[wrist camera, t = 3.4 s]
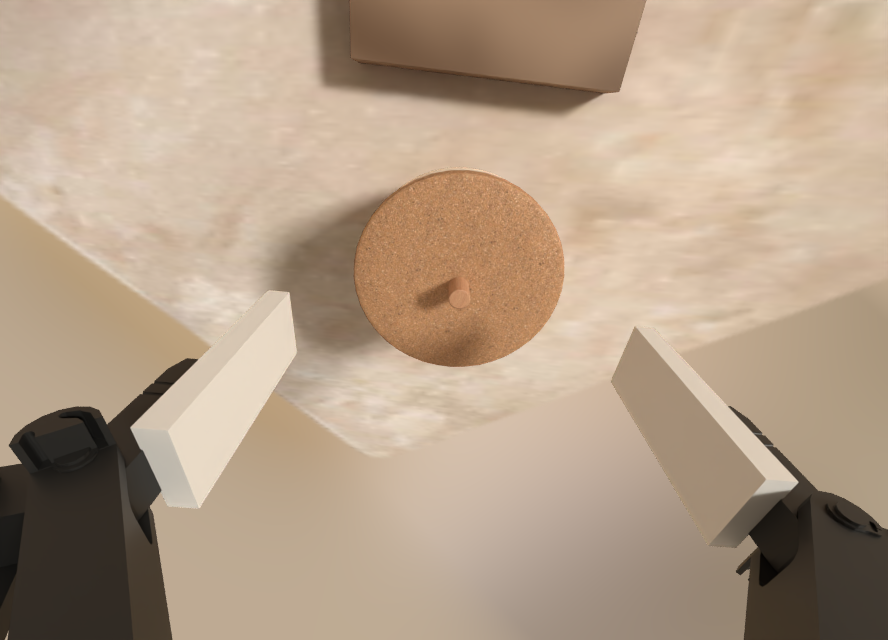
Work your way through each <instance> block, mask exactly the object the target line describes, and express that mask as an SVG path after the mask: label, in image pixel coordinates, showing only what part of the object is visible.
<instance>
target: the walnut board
mask: <svg viewBox="0 0 888 640" xmlns="http://www.w3.org/2000/svg"><path fill="white" fill-rule="evenodd" d="M645 3H646V0H349V7H350V52H351V59H353V60H355V61H357V62H359V63H367V64H375V65H383V66H391V67H399V68H407V69H415V70H423V71H431V72H439V73H447V74H455V75H462V76H470V77H478V78H486V79H494V80H502V81H510V82H518V83H526V84H534V85H542V86H550V87H558V88H566V89H574V90H582V91H590V92H598V93H613V92H619V91H620V87H621V84H622V81H623V77H624V74H625V71H626V67H627V64H628V60H629V57H630V54H631V50H632V47H633V44H634V40H635V37H636V33H637V30H638V27H639V23H640V20H641V17H642V13H643V10H644V7H645Z"/></svg>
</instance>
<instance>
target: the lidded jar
mask: <svg viewBox="0 0 888 640" xmlns="http://www.w3.org/2000/svg"><path fill="white" fill-rule="evenodd" d="M563 279H564V256H563V250H562V245H561V242H560V239H559V236H558V234H557V231H556V228H555V227H554V225H553V223H552V222H551V220H550V218H549V217H548V215H547V214H546V212H545V211H544V210H543V209H542V208H541V207H540V206H539V204H538V203H537V202H536V201H535V200H534V199H533V198H532V197H531V196H529V195H528V194H527V193H526V192H524V191H523V190H522V189H521V188H519V187H518V186H516V185H514V184H512V183H511V182H509V181H507V180H505V179H503V178H502V177H500V176H498V175H496V174H493V173H490V172H487V171H484V170H480V169H474V168H468V167H450V168H444V169H439V170H434V171H431V172H428V173H425V174H423V175H420V176H418V177H416V178H414V179H413V180H411V181H409V182H407V183H406V184H404V185H403V186H402V187H401V188H399V189H398V190H397V191H396V192H394V193H393V194H392V195H391V196H389V197H388V198H387V199H386V200H385V201H384V202H383V203H382V204H381V205H380V207H379V208H378V209H377V210H376V211H375V212H374V214H373V215H372V216H371V218H370V220H369V221H368V223H367V225H366V226H365V228H364V230H363V232H362V235H361V237H360V240H359V242H358V245H357V250H356V255H355V260H354V281H355V287H356V293H357V296H358V299H359V302H360V305H361V307H362V309H363V311H364V313H365V315H366V317H367V319H368V320H369V321H370V323H371V324H372V326H373V327H374V328H375V330H376V331H377V332H378V333H379V334H380V335H381V336H382V337H383V338H384V339H385V340H386V341H387V342H389V343H390V344H391V345H393V346H394V347H395V348H397V349H398V350H400V351H402V352H403V353H405V354H407V355H409V356H411V357H413V358H416V359H418V360H421V361H423V362H427V363H431V364H436V365H442V366H449V367H464V366H473V365H480V364H484V363H488V362H491V361H494V360H497V359H499V358H502V357H505V356H507V355H509V354H510V353H512V352H514V351H515V350H517V349H519V348H520V347H522V346H523V345H524V344H526V343H527V342H528V341H530V340H531V339H532V338H533V337H534V336H535V335H536V334H537V333H538V332H539V331H540V330H541V329H542V327H543V326H544V325H545V323H546V322H547V321H548V319H549V318H550V316H551V314H552V312H553V311H554V309H555V307H556V305H557V302H558V299H559V296H560V294H561V291H562V285H563Z"/></svg>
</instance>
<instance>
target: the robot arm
mask: <svg viewBox="0 0 888 640" xmlns="http://www.w3.org/2000/svg"><path fill="white" fill-rule="evenodd" d="M296 354H297V349H296V341H295V333H294V325H293V317H292V309H291V301H290V293H289V292H283V291H273V290H268V291H267V292H266V293H265V294H264V295H263V296H262V297H261V298H260V299H259V300H258V301H257V302H256V303H255V304H254V305H253V306H252V307H251V308H250V309H249V310H248V311H247V312H246V313H245V314H244V315H243V316H242V317H241V318H240V319H239V320H238V321H237V322H236V323H235V324H234V325H233V326H232V327H231V328H230V329H229V330H228V331H227V332H226V333H225V334H224V335H223V336H222V337H221V338H220V339H219V340H218V341H217V342H216V343H215V344H214V345H213V346H212V347H211V348H210V349H209V350H208V351H207V352H206V353H205V354H204V355H203V356H202V357H201V358H200V359H188V358H187V359H185V360H183V361H181V362H179V363H178V364H176V365H174V366H172V367H170V368H168V369H167V370H166V371H165V372H164V373H163V374H162V375H161V376H160V377H159V378H158V379H156V380H155V382H154V384H151V385H150V386H149V387H148V388H146V389H145V391H143V394H140V395H139V396H138V397H137V398H136V399H134V400H133V401H132V402H131V403H130V404H129V405H128V406H127V407H126V408H125V409H124V410H123V411H121V413H119V414H118V415H117V416H116V417H115V418H114V419H113V420H112V421H111V422H110V423H108V424H106V422H105V420H104V418H103V416H102V415H101V413H100V411H99V410H97V409H95V408H92V407H72V408H67V409H62V410H58V411H56V412H53V413H50V414H47V415H45V416H42V417H40V418H39V419H37V420H35V421H33V422H31V423H30V424H28V425H26V426H25V427H24V428H23V429H22V430H20V431H19V432H18V433H17V434H16V435H15V436H14V437H13V439H12V441H11V443H10V444H9V447H10V448H11V449H12V450H13V452H14V453H15V455H16V456H17V457H18V459H19V460H20V461H21V463H22V464H16V465H10V466H4V467H0V640H5V638H6V635H7V633H8V631H9V633H8V640H172V634H171V628H170V622H169V614H168V608H167V602H166V595H165V588H164V582H163V575H162V569H161V563H160V555H159V549H158V543H157V536H156V530H155V523H154V516H153V513H152V511H151V509H150V505H151V504H152V503H153V501H154V500H155V499H156V497H157V496H158V495H159V493H160V492H161V493H162V496H163V498H164V500H165V502H166V504H167V506H172V507H185V508H198V509H199V508H200V506H201V505H202V503H203V502H204V500H205V498H206V497H207V495H208V494H209V492H210V491H211V489H212V487H213V486H214V484H215V482H216V481H217V479H218V478H219V476H220V474H221V473H222V471H223V470H224V468H225V467H226V465H227V463H228V462H229V460H230V459H231V457H232V455H233V454H234V452H235V451H236V449H237V448H238V446H239V444H240V443H241V441H242V440H243V438H244V436H245V435H246V433H247V431H248V430H249V428H250V427H251V425H252V424H253V422H254V420H255V419H256V417H257V416H258V414H259V412H260V411H261V409H262V408H263V406H264V404H265V403H266V401H267V400H268V398H269V396H270V395H271V393H272V392H273V390H274V389H275V387H276V385H277V384H278V382H279V381H280V379H281V377H282V376H283V374H284V373H285V371H286V369H287V368H288V366H289V365H290V363H291V362H292V360H293V358H294V357H295V355H296ZM611 383H612V384H613V386H614V388H615V389H616V391H617V393H618V394H619V396H620V398H621V399H622V401H623V403H624V405H625V406H626V408H627V410H628V411H629V413H630V415H631V416H632V418H633V420H634V421H635V423H636V425H637V427H638V428H639V430H640V432H641V433H642V435H643V437H644V438H645V440H646V442H647V443H648V445H649V447H650V448H651V450H652V452H653V454H654V455H655V457H656V459H657V460H658V462H659V463H660V465H661V467H662V469H663V470H664V472H665V474H666V475H667V477H668V479H669V480H670V482H671V484H672V485H673V487H674V489H675V491H676V492H677V494H678V495H679V497H680V499H681V501H682V502H683V504H684V506H685V507H686V509H687V511H688V512H689V514H690V516H691V517H692V519H693V521H694V523H695V524H696V526H697V528H698V529H699V531H700V533H701V534H702V536H703V538H704V539H705V541H706V543H707V544H708V546H718V547H731V548H736V547H737V546H738V545H739V544H740V543H741V542H742V541H743V540H744V539H745V538H746V537H747V536H748V535H750V536H751V538H752V539H753V540H754V542H755V544H756V545H757V546H758V548H757V549H756V550H755V551H754V552H753V553H752V554H750V556H748V557H747V559H745V560H744V561H743V562H742V563H741V564H740V565H739V567H738V568H737V570H736V573H738V574H739V575H741V574H742V573H743V572H744V571H746V570H747V569H750V575H749V579H748V580H749V587H748V598H747V610H746V622H745V633H744V640H888V530H887V529H884V528H882V527H881V526H880V525H879V524H878V523H877V522H876V521H875V520H874V519H873V518H872V517H871V516H870V515H868V514H867V513H866V512H865V511H863V510H862V509H861V508H859V507H858V506H856V505H854V504H853V503H851V502H849V501H848V500H846V499H844V498H842V497H839V496H837V495H834V494H832V493H827V492H822V491H818V490H817V489H816V488H815V487H814V486H813V485H812V484H811V483H810V482H809V481H808V480H807V479H806V478H805V477H804V476H803V475H802V474H801V473H800V472H799V471H798V469H797V468H795V466H794V465H793V464H792V463H791V462H790V461H789V460H788V459H787V458H786V457H785V456H784V455H783V454H782V453H781V452H780V451H779V450H778V449H777V448H775V447H773V444H772V443H771V442H770V441H769V440H768V438H767V437H766V436H763V435H762V432H761V431H760V430H759V429H758V428H757V427H756V426H755V425H754V424H753V423H752V422H751V421H750V420H749V419H748V418H746V417H745V416H744V415H742V414H741V413H740V412H738V411H736V410H735V409H734V408H732V407H731V406H727V405H726V404H725V403H724V402H723V401H722V400H721V399H720V398H719V397H718V396H717V394H715V392H714V391H713V390H712V389H711V388H710V387H709V386H708V385H707V384H706V383H705V382H704V381H703V379H702V378H701V377H700V376H699V375H698V374H697V373H696V372H695V371H694V370H693V369H692V368H691V367H690V366H689V365H688V363H687V362H686V361H685V360H684V359H683V358H682V357H681V356H680V355H679V354H678V353H677V352H676V351H675V350H674V349H673V347H672V346H671V345H670V344H669V343H668V342H667V341H666V340H665V339H664V338H663V337H662V336H661V335H660V334H659V333H658V331H657V330H656V329H655V328H649V327H639V326H635V327H634V329H633V332H632V334H631V336H630V339H629V341H628V343H627V345H626V348H625V350H624V352H623V355H622V357H621V359H620V361H619V364H618V366H617V368H616V371H615V373H614V375H613V377H612V380H611Z"/></svg>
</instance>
